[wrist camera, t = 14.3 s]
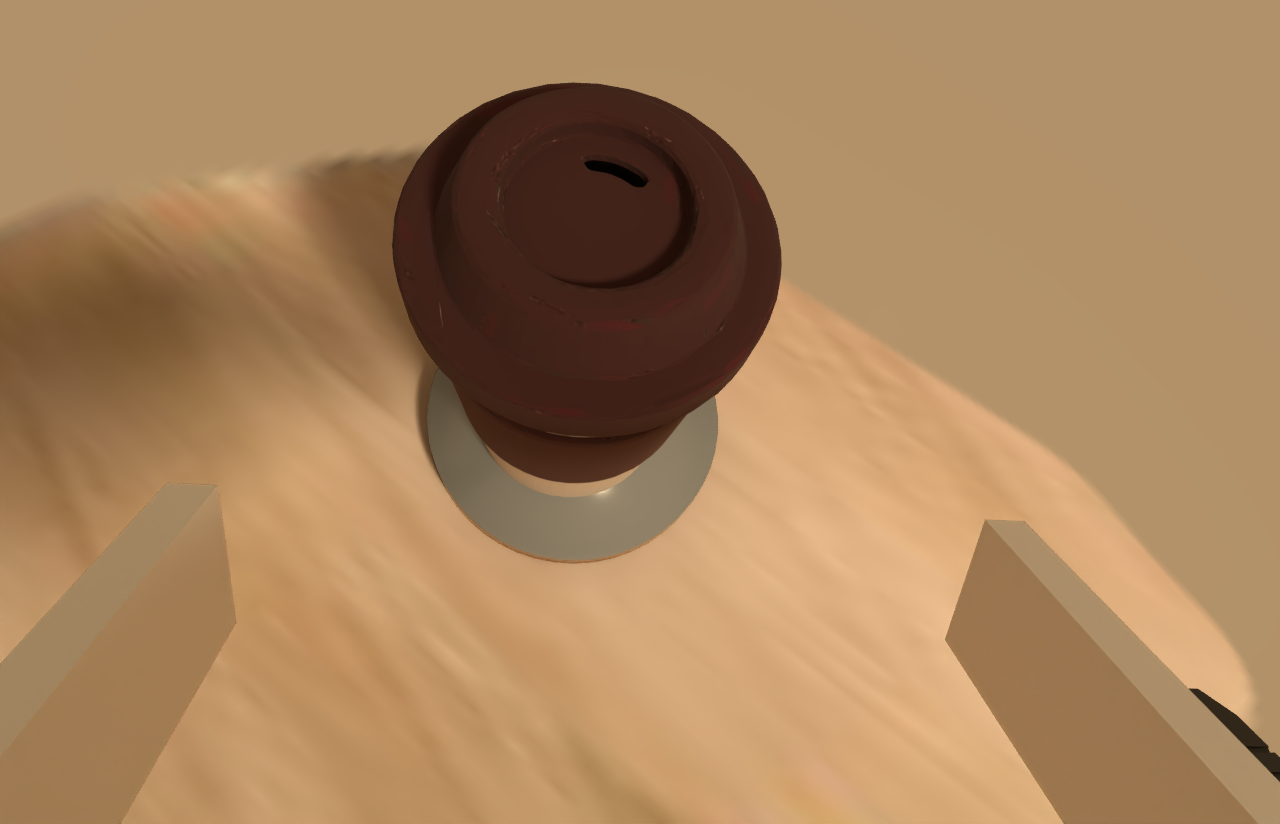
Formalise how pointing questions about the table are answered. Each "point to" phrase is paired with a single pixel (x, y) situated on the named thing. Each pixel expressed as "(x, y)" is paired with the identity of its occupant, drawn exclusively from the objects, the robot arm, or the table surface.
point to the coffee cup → (584, 275)
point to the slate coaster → (568, 522)
